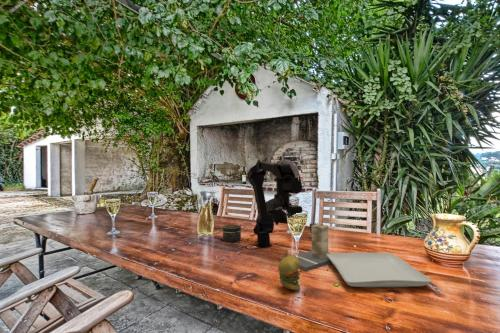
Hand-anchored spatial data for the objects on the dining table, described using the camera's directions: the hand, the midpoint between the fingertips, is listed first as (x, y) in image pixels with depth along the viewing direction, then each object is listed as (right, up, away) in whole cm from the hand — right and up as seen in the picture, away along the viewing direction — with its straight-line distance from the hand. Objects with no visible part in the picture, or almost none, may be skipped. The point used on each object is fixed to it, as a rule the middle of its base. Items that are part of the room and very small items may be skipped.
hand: (283, 226), depth 122 cm
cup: (+21, -13, +26) cm, 36 cm away
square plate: (+30, -13, -22) cm, 39 cm away
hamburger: (-2, -14, -33) cm, 35 cm away
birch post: (+15, -11, -6) cm, 20 cm away
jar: (-25, -14, +27) cm, 39 cm away
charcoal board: (+11, -13, -7) cm, 18 cm away
